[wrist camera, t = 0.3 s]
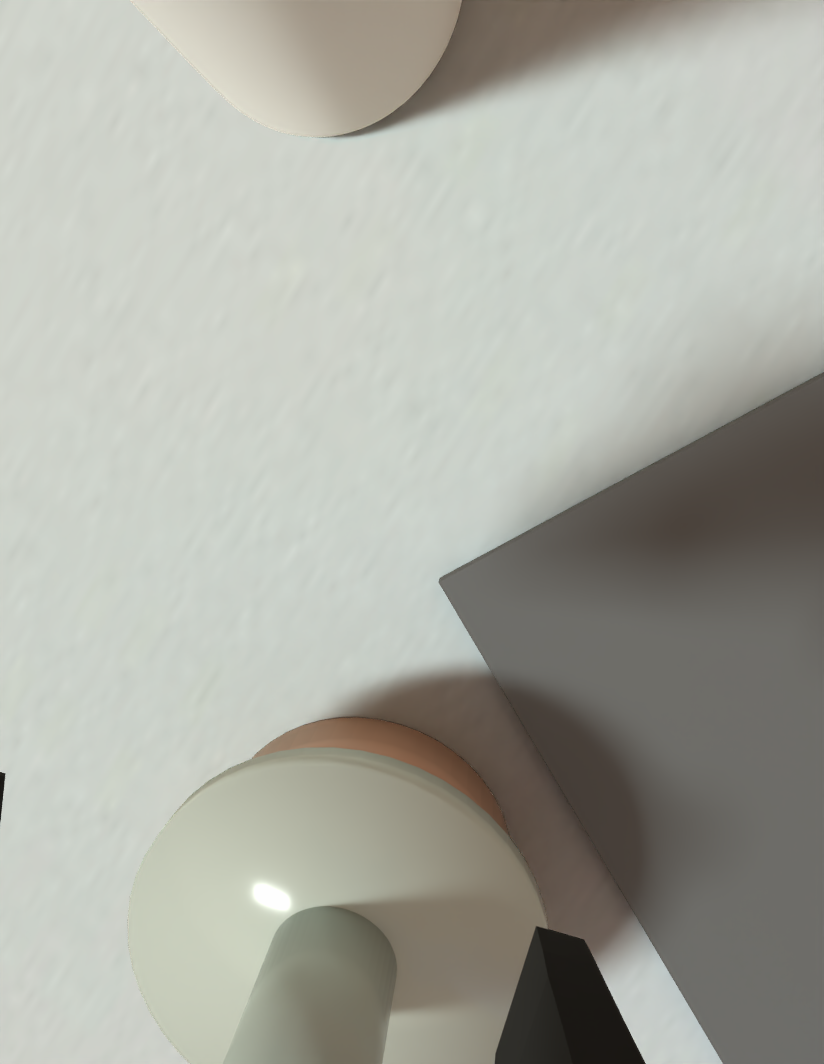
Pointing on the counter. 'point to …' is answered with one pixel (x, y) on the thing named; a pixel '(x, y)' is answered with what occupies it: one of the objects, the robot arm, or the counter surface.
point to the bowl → (392, 752)
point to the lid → (331, 916)
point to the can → (309, 55)
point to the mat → (689, 707)
